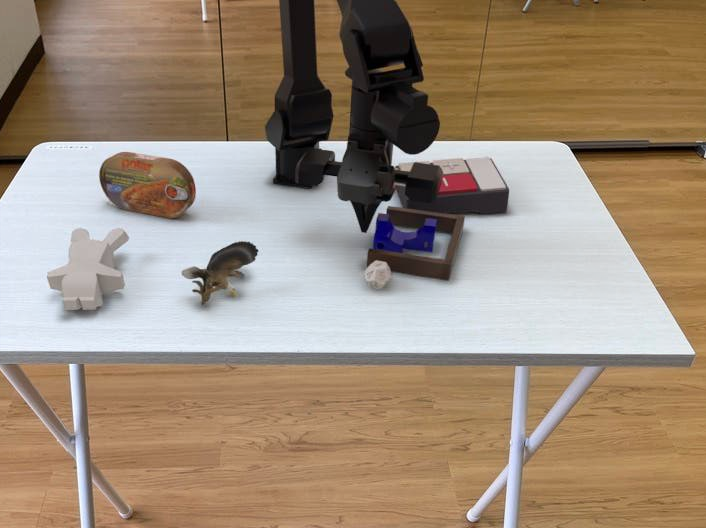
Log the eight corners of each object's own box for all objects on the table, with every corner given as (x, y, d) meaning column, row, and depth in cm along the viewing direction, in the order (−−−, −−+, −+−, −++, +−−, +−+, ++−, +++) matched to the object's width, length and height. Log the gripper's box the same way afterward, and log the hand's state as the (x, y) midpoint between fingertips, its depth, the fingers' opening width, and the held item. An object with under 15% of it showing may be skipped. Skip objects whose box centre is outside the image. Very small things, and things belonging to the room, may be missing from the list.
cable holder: (372, 251, 107) (374, 225, 104) (376, 238, 109) (378, 213, 107) (431, 258, 105) (434, 232, 103) (433, 244, 108) (436, 219, 105)
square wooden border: (366, 267, 104) (367, 251, 102) (386, 221, 113) (388, 205, 111) (448, 280, 101) (451, 264, 99) (462, 231, 110) (465, 216, 109)
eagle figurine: (241, 310, 95) (272, 262, 100) (204, 266, 91) (238, 219, 96) (201, 321, 100) (233, 275, 105) (166, 280, 97) (200, 235, 102)
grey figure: (35, 290, 94) (61, 215, 104) (46, 321, 97) (70, 246, 107) (113, 290, 93) (132, 215, 103) (121, 321, 97) (138, 246, 107)
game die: (397, 286, 100) (399, 266, 98) (374, 295, 99) (375, 275, 97) (380, 274, 103) (382, 254, 101) (357, 282, 101) (359, 263, 99)
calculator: (394, 160, 119) (491, 152, 119) (393, 186, 122) (488, 178, 122) (406, 194, 111) (511, 185, 111) (405, 221, 114) (507, 212, 114)
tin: (103, 205, 118) (93, 153, 112) (114, 196, 120) (104, 144, 114) (191, 223, 113) (185, 169, 108) (201, 213, 115) (196, 160, 110)
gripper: (281, 139, 94) (282, 250, 104) (435, 159, 90) (420, 273, 100) (308, 104, 102) (306, 211, 112) (450, 121, 97) (435, 231, 108)
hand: (364, 231), depth 108 cm, fingers closed
